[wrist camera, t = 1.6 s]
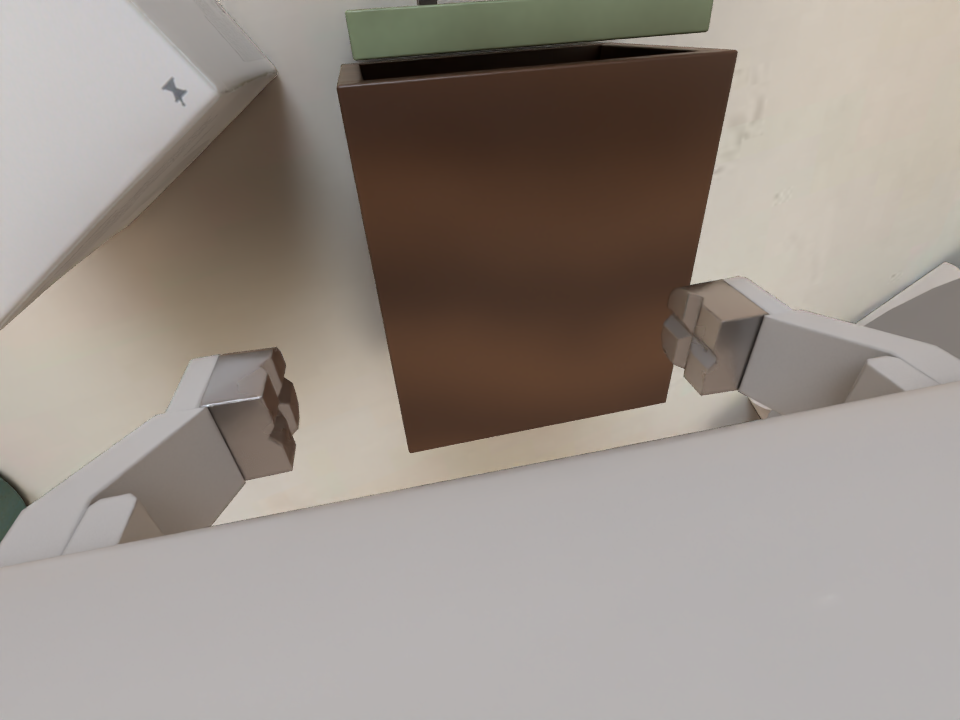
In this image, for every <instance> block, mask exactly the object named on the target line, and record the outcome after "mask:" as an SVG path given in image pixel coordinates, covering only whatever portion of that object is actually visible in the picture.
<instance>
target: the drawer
mask: <svg viewBox="0 0 960 720" xmlns="http://www.w3.org/2000/svg"><path fill="white" fill-rule="evenodd" d="M712 5H713V0H494V1H479V2H464V3H449V4H437V0H417V6H404V7H389V8H374V9H359V10H347V11H346V12H345V15H346V21H347V27H348V32H349V38H350V44H351V49H352V55H353V59H354V60H356V61H357V60H369V59H382V58H394V57H406V56H419V55H431V54H443V53H455V52H468V51H480V50H492V49H505V48H517V47H529V46H541V45H554V44H566V43H578V42H590V41H603V40H615V39H627V38H640V37H652V36H664V35H676V34H689V33H701V32H707V31H708V29H709V23H710V17H711V11H712Z"/></svg>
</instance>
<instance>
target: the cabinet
mask: <svg viewBox="0 0 960 720" xmlns="http://www.w3.org/2000/svg"><path fill="white" fill-rule="evenodd" d="M737 53H738V52H737V51H736V50H729V49H713V48H695V47H678V46H660V45H643V44H626V43H610V42H609V43H597V44H584V45H572V46H560V47H548V48H536V49H524V50H511V51H499V52H487V53H475V54H463V55H451V56H438V57H426V58H414V59H402V60H390V61H378V62H365V63H353V64H342V65H341V69H340V73H339V78H338V83H337V93H338V98H339V103H340V108H341V113H342V118H343V123H344V128H345V133H346V138H347V143H348V148H349V153H350V158H351V163H352V168H353V173H354V178H355V183H356V188H357V194H358V199H359V204H360V209H361V214H362V219H363V224H364V229H365V234H366V239H367V244H368V249H369V254H370V259H371V264H372V269H373V274H374V279H375V284H376V289H377V294H378V299H379V304H380V309H381V314H382V319H383V324H384V329H385V334H386V339H387V344H388V349H389V354H390V359H391V364H392V369H393V374H394V379H395V384H396V389H397V394H398V399H399V404H400V409H401V414H402V419H403V424H404V429H405V434H406V439H407V444H408V450H409V452H410V453H414V452H419V451H424V450H429V449H434V448H439V447H444V446H449V445H454V444H459V443H464V442H469V441H474V440H479V439H484V438H489V437H494V436H499V435H504V434H509V433H514V432H519V431H524V430H529V429H534V428H539V427H544V426H549V425H554V424H559V423H564V422H569V421H574V420H580V419H585V418H590V417H595V416H600V415H605V414H610V413H615V412H620V411H625V410H630V409H635V408H640V407H645V406H650V405H655V404H660V403H665V402H666V398H667V394H668V389H669V384H670V379H671V374H672V369H673V364H672V363H671V361H670V360H669V359H668V358H667V357H666V355H665V352H664V350H663V347H662V341H661V332H662V326H663V323H664V322H665V321H666V319H667V318H668V317H669V316H670V315H671V312H670V311H669V309H668V307H667V302H668V297H669V294H670V293H671V291H672V289H673V288H677V287H682V286H688V285H690V282H691V277H692V272H693V267H694V262H695V257H696V253H697V248H698V243H699V238H700V233H701V228H702V223H703V219H704V214H705V209H706V204H707V199H708V194H709V189H710V185H711V180H712V175H713V170H714V165H715V160H716V155H717V151H718V146H719V141H720V136H721V131H722V126H723V121H724V117H725V112H726V107H727V102H728V97H729V92H730V87H731V83H732V78H733V73H734V68H735V63H736V58H737Z"/></svg>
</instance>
